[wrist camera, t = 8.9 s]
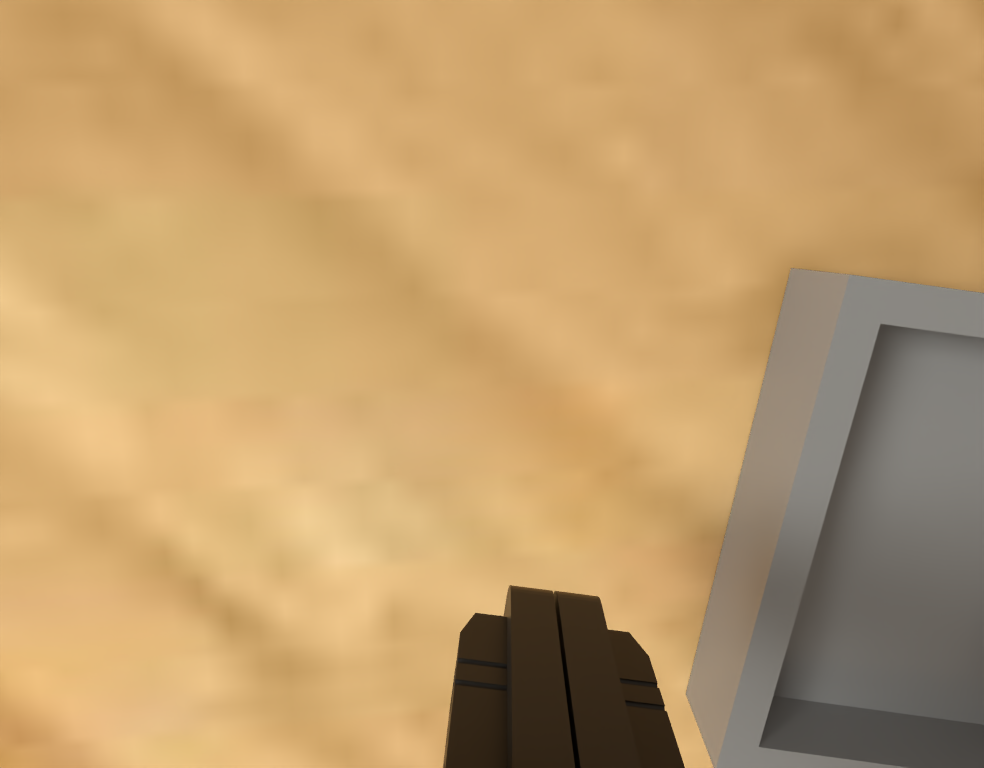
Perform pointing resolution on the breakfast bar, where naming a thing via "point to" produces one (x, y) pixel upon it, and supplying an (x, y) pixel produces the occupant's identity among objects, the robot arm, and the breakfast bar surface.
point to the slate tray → (855, 540)
